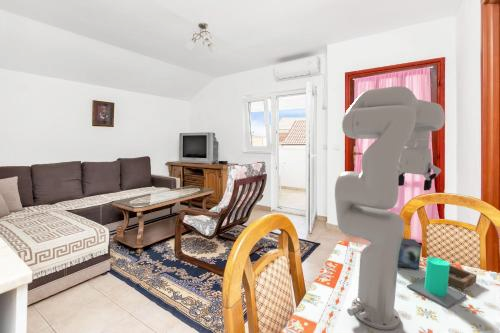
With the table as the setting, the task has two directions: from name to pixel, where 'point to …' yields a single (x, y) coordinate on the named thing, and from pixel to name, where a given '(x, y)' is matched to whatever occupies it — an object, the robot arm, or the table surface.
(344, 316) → the table surface
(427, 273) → the candle
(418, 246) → the small box
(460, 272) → the holder
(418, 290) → the slate mat
